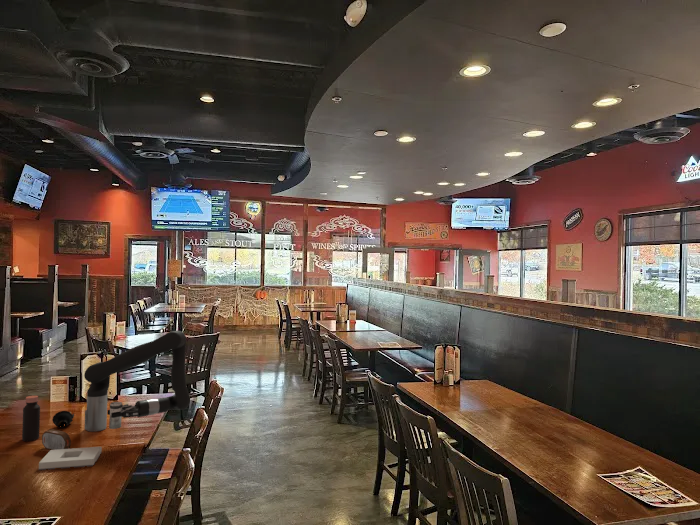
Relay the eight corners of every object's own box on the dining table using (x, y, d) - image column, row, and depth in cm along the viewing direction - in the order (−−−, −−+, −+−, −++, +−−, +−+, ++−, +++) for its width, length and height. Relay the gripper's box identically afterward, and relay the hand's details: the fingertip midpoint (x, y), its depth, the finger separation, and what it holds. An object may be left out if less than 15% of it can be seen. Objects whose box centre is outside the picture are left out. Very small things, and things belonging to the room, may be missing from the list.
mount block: (38, 470, 194) (38, 462, 194) (50, 456, 207) (50, 449, 208) (93, 466, 199) (93, 458, 199) (101, 453, 213) (101, 446, 213)
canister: (106, 428, 220) (107, 404, 220) (114, 424, 225) (115, 401, 225) (115, 429, 219) (116, 405, 219) (124, 426, 224) (125, 402, 224)
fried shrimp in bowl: (48, 422, 238) (49, 402, 253) (58, 438, 243) (59, 417, 257) (68, 414, 241) (68, 394, 256) (78, 429, 246) (77, 410, 261)
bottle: (42, 438, 229) (43, 396, 230) (27, 442, 223) (29, 399, 224) (33, 435, 232) (34, 394, 233) (18, 440, 226) (20, 397, 226)
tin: (71, 451, 215) (71, 432, 215) (65, 453, 212) (65, 434, 212) (46, 446, 220) (47, 427, 220) (40, 448, 217) (40, 429, 217)
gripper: (142, 396, 237) (105, 402, 226) (153, 403, 227) (114, 409, 215) (141, 411, 237) (104, 418, 225) (152, 419, 227) (114, 426, 215)
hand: (109, 413), depth 220 cm, fingers closed on canister, 5 cm apart
